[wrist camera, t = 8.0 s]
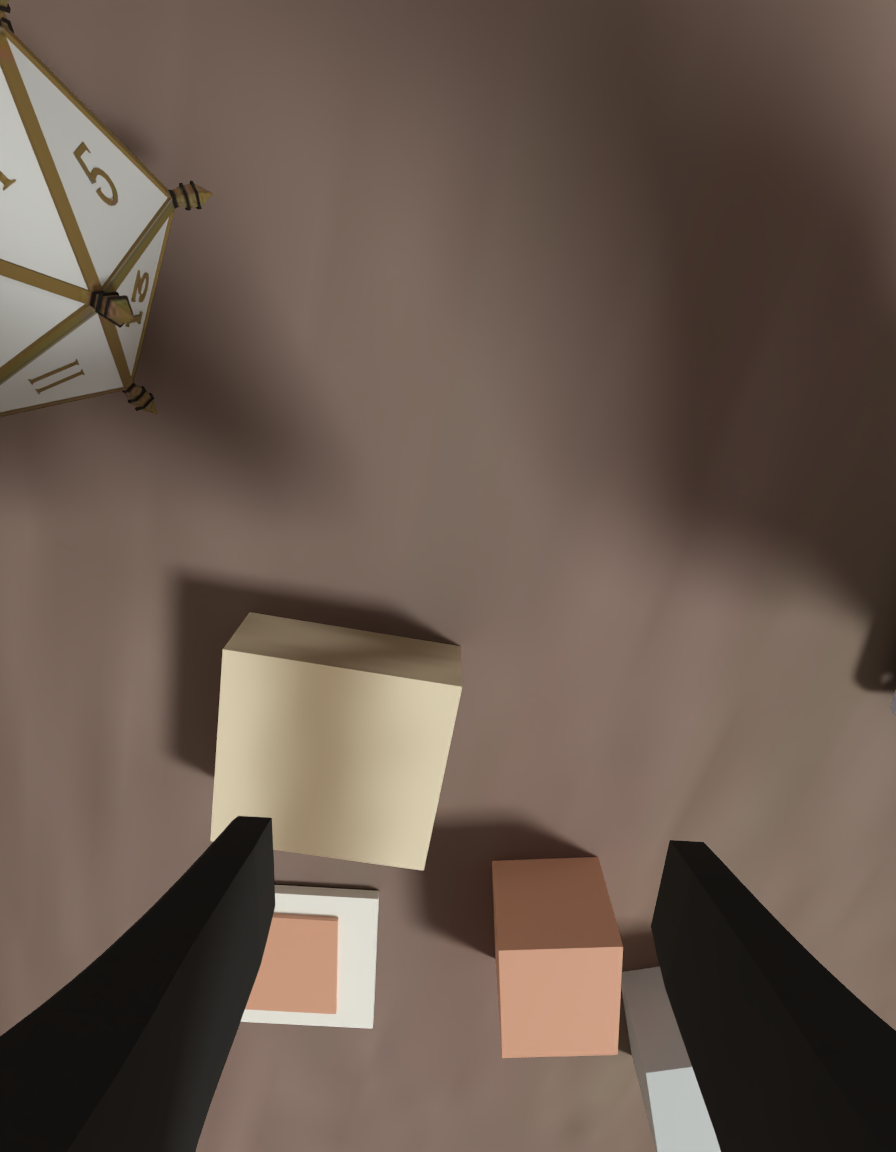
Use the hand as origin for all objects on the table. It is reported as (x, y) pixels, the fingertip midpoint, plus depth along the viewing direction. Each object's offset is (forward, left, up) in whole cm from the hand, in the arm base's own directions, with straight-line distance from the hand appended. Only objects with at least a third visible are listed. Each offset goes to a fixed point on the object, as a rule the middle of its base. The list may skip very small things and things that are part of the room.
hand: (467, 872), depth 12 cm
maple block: (+4, +4, -11) cm, 12 cm away
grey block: (-10, +17, -10) cm, 22 cm away
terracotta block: (-4, +12, -10) cm, 16 cm away
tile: (+6, +15, -10) cm, 19 cm away
